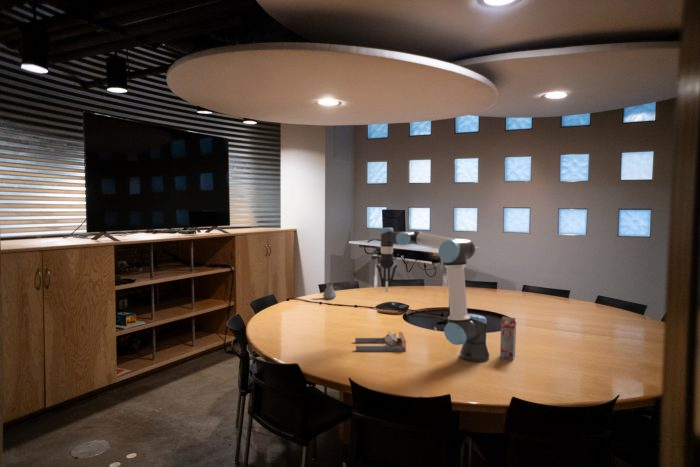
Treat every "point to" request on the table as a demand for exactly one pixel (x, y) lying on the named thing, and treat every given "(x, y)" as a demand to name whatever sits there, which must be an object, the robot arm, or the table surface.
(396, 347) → the guide channel
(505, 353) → the juice carton
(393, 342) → the spiky grey ball
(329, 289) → the coffee pot
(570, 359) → the table surface
